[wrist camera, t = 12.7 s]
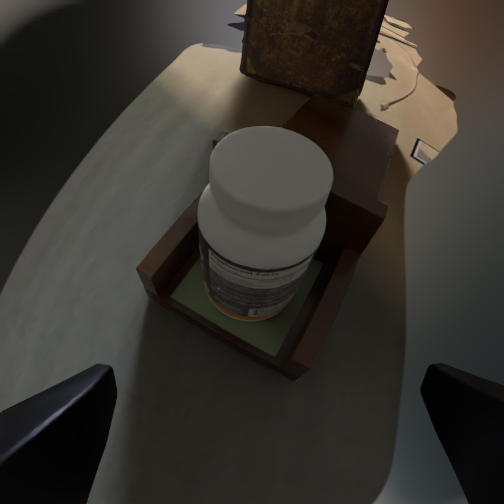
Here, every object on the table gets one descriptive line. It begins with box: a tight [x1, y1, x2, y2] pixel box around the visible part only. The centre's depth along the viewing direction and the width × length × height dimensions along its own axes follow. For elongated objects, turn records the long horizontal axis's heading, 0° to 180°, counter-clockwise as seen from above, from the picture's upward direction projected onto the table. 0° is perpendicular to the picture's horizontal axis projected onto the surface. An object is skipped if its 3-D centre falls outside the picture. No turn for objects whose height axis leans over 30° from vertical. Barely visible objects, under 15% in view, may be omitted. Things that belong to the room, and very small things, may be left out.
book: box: [240, 0, 389, 109], centre depth 27 cm, size 17×7×25 cm, turn 62°
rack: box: [136, 93, 399, 381], centre depth 24 cm, size 30×11×8 cm, turn 151°
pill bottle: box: [197, 126, 333, 322], centre depth 15 cm, size 6×6×10 cm
